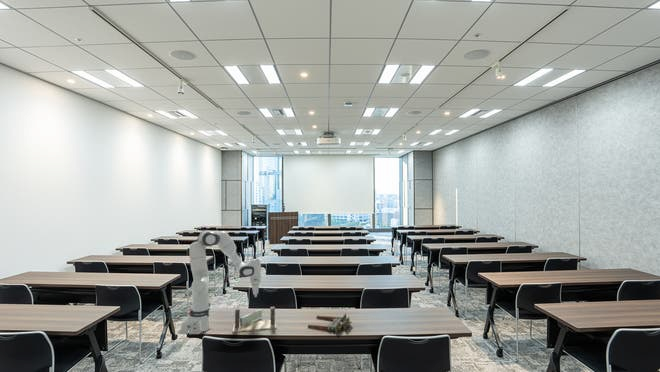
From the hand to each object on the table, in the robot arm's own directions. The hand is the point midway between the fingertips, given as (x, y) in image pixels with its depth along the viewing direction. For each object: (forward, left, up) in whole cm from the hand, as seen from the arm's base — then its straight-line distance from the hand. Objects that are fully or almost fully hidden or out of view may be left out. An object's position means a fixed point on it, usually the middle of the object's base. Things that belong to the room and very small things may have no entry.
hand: (255, 296), depth 252 cm
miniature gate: (+56, -29, -17) cm, 65 cm away
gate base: (0, -19, -16) cm, 25 cm away
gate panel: (-3, -12, -15) cm, 19 cm away
